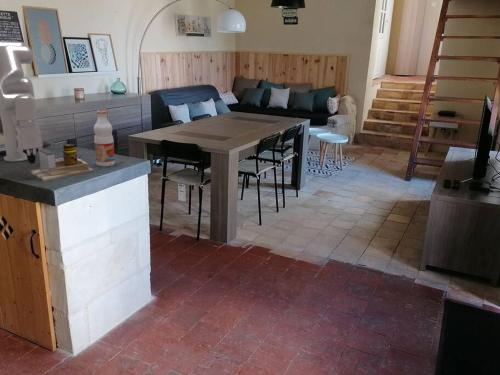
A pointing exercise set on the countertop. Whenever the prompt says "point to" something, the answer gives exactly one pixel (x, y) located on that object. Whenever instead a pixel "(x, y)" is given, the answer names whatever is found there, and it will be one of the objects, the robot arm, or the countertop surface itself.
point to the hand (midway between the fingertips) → (31, 163)
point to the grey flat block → (47, 160)
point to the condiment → (69, 155)
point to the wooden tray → (63, 170)
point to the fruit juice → (103, 141)
